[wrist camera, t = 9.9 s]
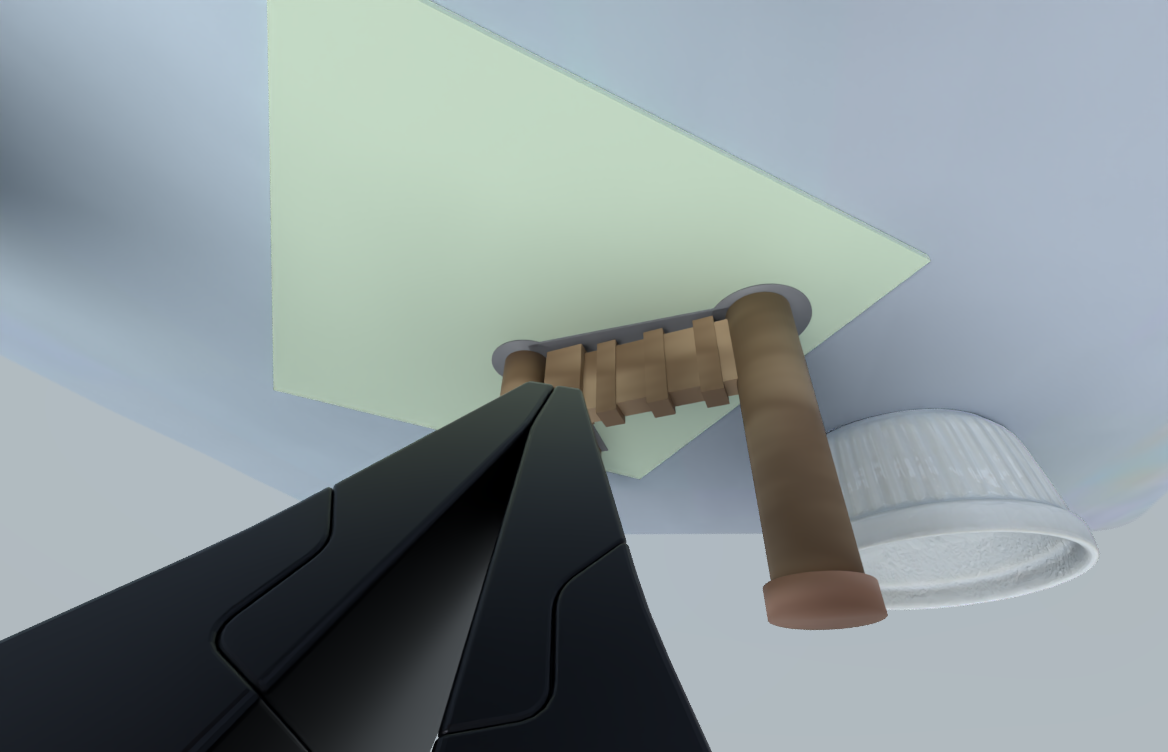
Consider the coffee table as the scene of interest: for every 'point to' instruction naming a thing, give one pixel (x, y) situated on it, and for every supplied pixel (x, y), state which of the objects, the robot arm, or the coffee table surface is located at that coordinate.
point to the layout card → (512, 222)
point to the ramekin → (954, 510)
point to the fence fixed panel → (523, 370)
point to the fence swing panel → (749, 444)
